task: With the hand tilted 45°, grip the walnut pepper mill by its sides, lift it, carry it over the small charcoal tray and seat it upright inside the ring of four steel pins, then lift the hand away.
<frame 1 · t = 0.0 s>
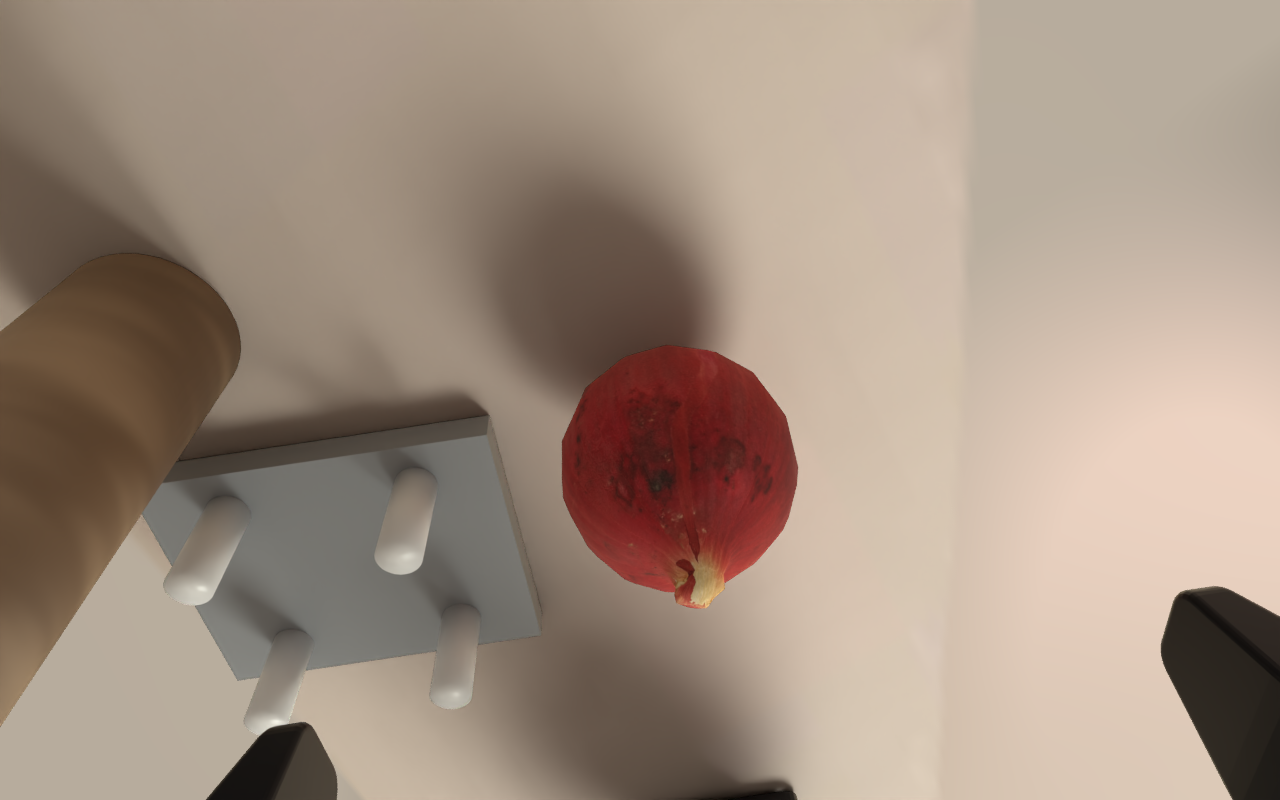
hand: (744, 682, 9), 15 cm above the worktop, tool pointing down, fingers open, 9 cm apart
pin tray: (358, 545, 26), on the worktop
pepper mill: (151, 332, 22), on the worktop
pomegranate: (662, 385, 24), on the worktop
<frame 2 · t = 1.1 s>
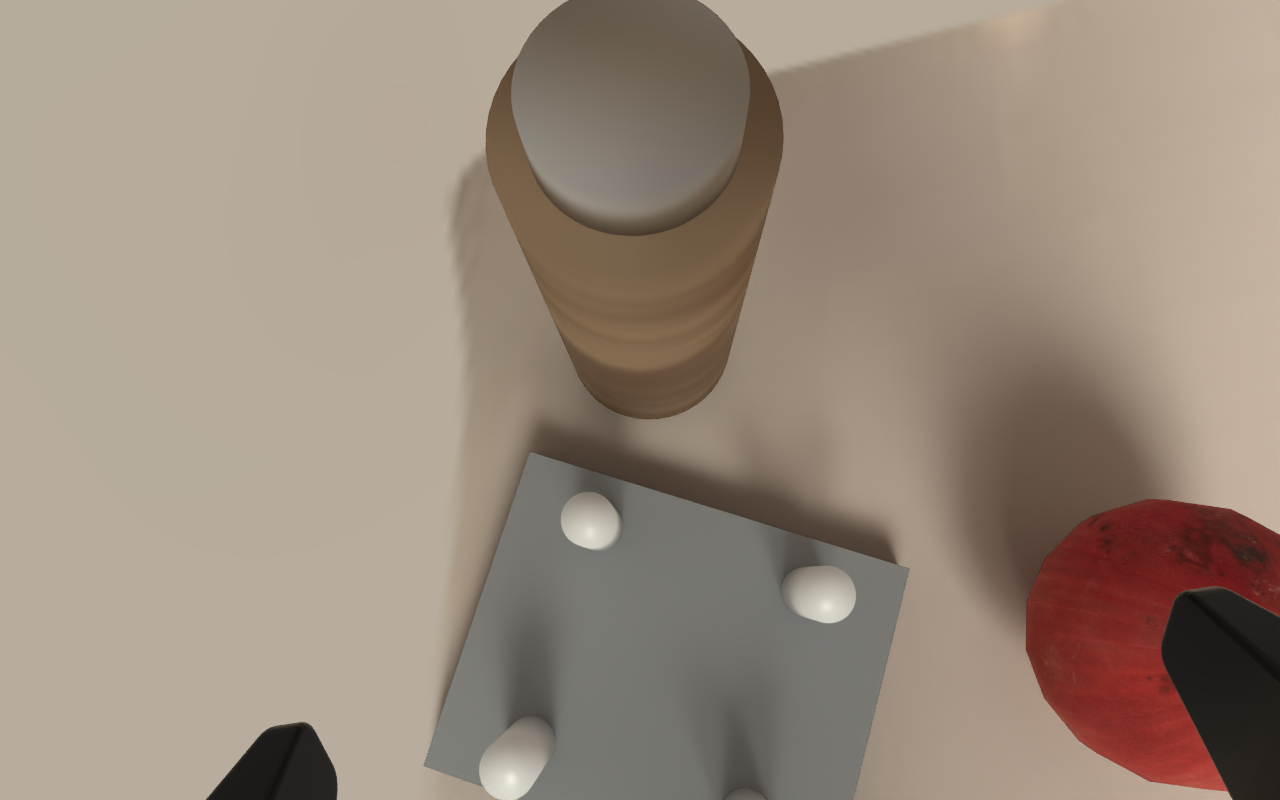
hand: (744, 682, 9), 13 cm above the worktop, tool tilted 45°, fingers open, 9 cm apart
pin tray: (669, 661, 22), on the worktop
pepper mill: (649, 341, 23), on the worktop
pomegranate: (1087, 627, 22), on the worktop
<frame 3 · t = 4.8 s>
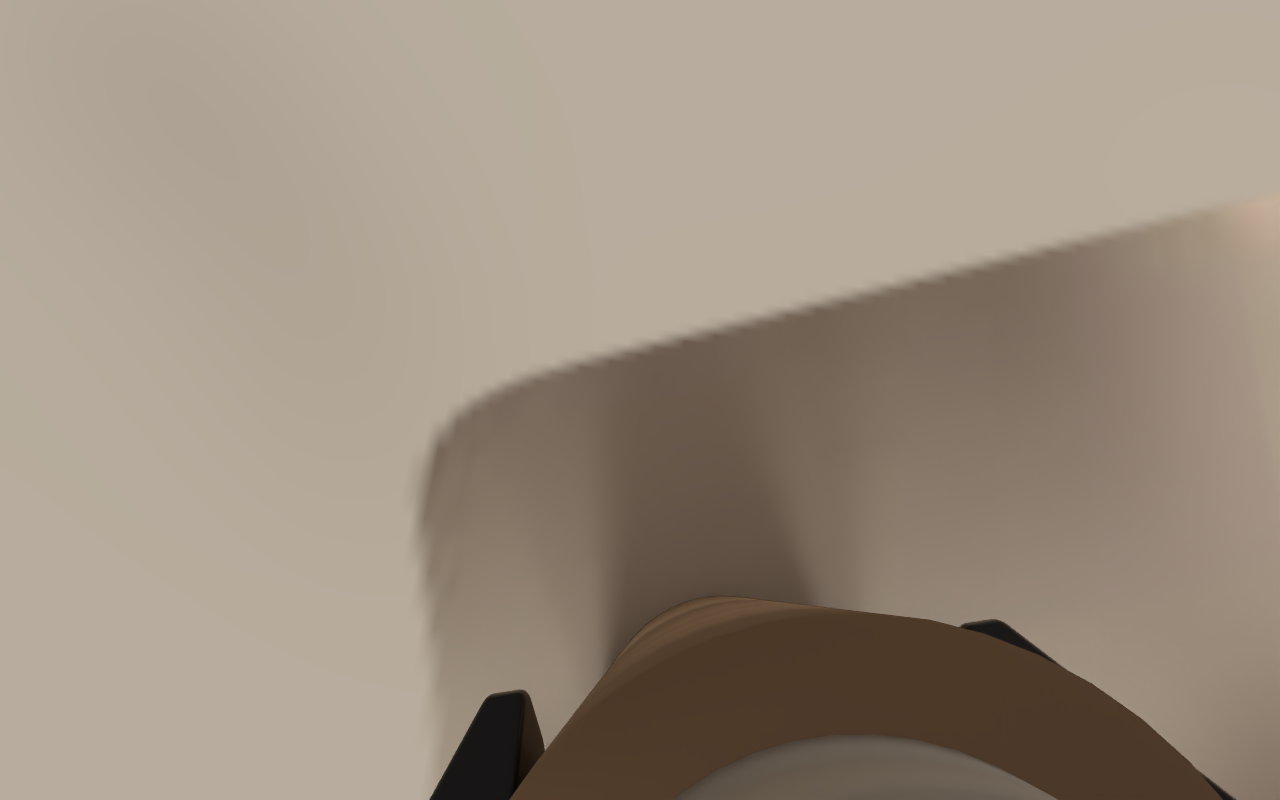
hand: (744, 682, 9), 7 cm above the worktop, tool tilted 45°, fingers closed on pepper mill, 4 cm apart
pepper mill: (726, 723, 15), on the worktop, touching gripper
when the fingers open (9 cm above the worktop, at t = 8.2 s): pepper mill drops 1 cm, resting on pin tray.
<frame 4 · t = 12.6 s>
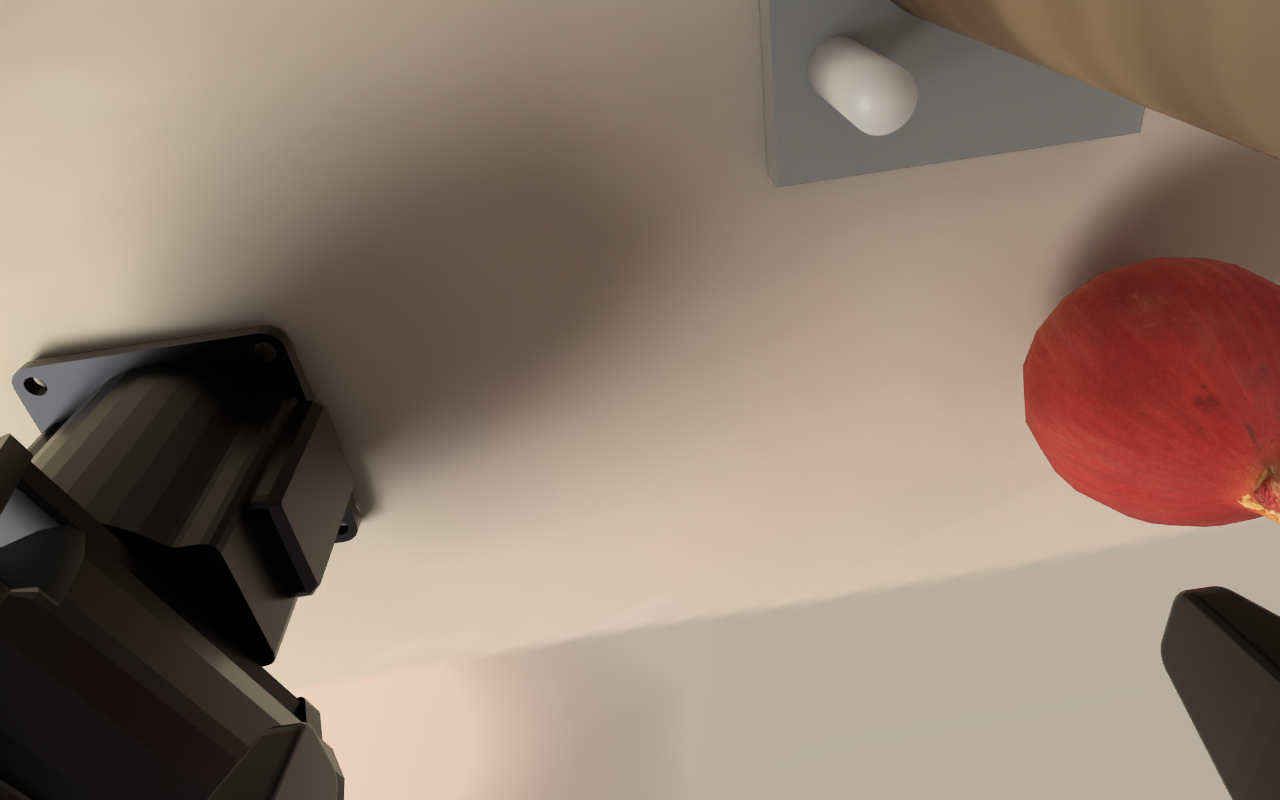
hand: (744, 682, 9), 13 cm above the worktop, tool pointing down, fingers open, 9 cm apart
pomegranate: (1077, 312, 22), on the worktop
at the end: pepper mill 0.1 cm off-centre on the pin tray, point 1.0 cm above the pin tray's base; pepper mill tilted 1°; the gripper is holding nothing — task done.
